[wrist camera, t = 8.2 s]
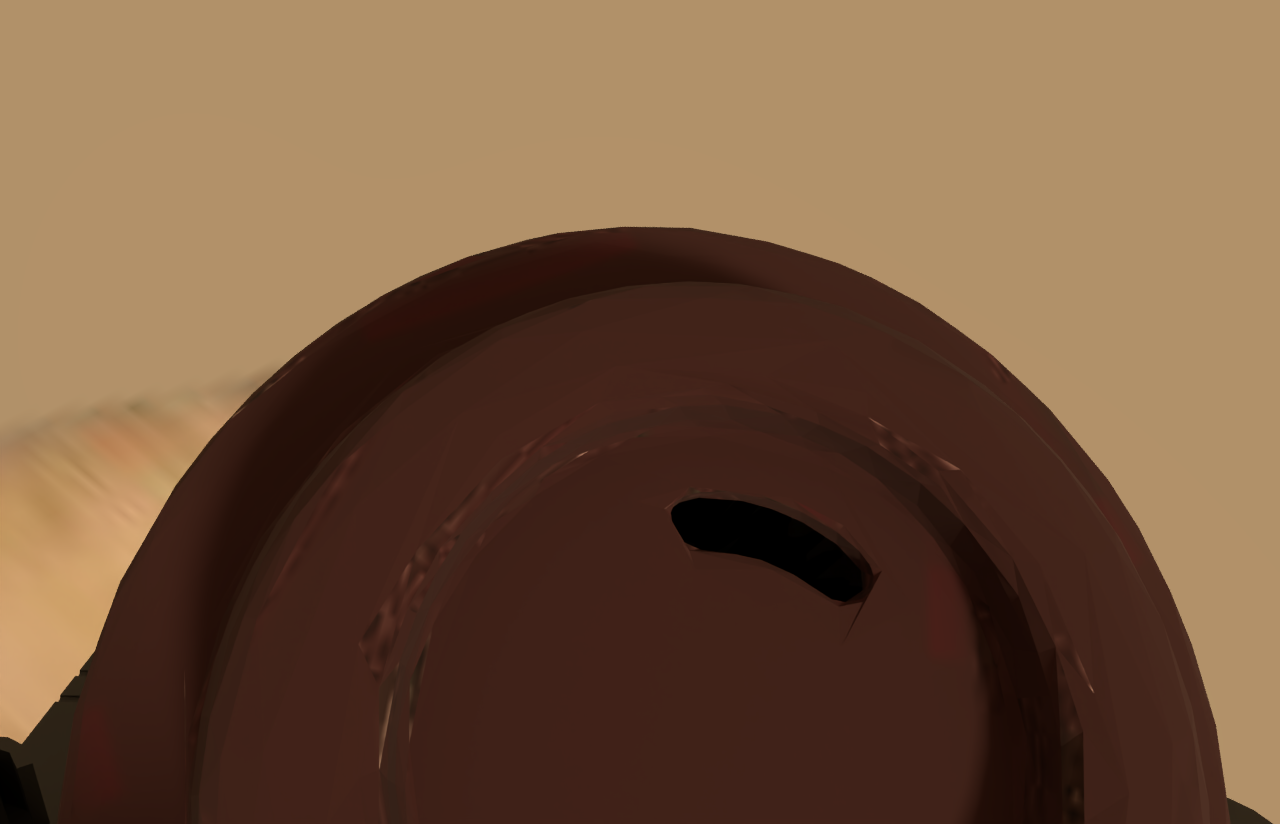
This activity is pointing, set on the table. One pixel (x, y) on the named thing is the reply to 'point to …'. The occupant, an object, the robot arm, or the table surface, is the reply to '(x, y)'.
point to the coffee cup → (643, 572)
